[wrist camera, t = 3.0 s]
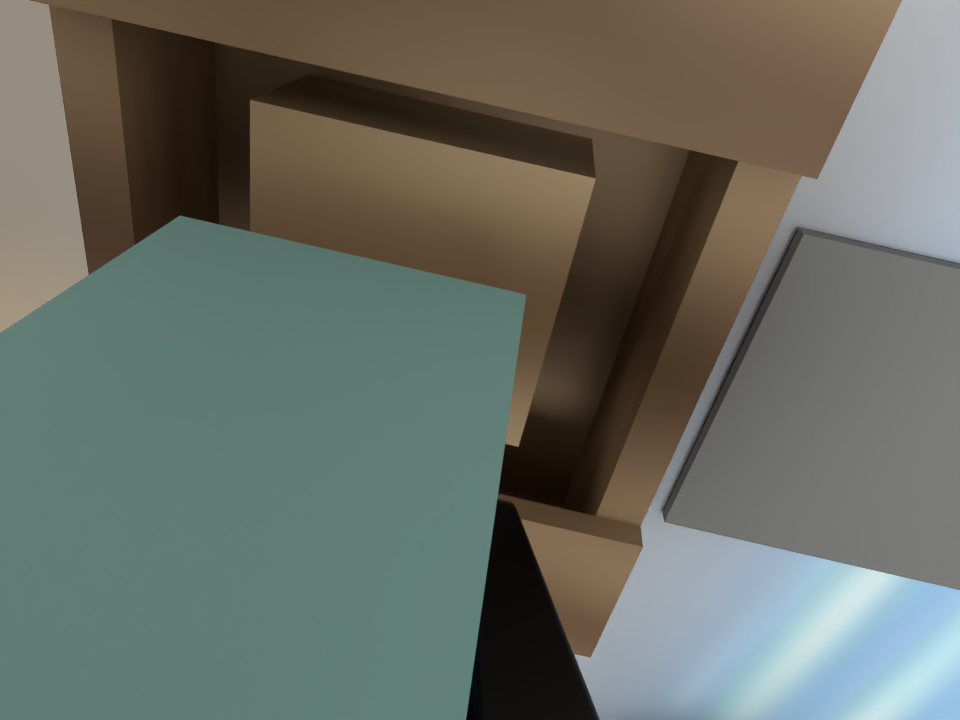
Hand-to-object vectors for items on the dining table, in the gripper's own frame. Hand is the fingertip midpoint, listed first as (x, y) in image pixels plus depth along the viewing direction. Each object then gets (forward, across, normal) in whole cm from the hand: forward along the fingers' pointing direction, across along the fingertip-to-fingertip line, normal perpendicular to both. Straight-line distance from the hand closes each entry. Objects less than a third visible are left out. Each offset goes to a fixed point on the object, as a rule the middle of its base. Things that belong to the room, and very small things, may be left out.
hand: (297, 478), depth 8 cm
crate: (+9, 0, 0) cm, 9 cm away
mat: (+9, -13, +3) cm, 16 cm away
